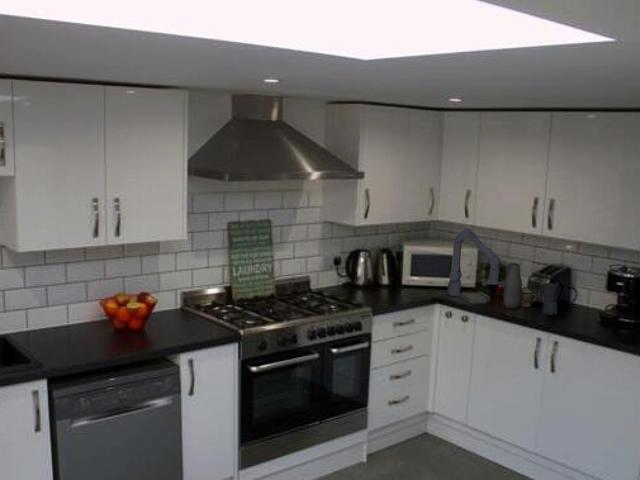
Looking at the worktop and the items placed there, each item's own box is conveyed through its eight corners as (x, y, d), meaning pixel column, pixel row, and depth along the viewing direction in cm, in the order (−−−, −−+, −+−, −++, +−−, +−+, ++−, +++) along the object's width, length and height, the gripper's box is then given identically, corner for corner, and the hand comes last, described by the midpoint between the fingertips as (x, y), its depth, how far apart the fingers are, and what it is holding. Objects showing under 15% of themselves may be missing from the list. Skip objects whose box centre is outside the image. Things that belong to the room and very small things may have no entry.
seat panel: (461, 296, 433) (461, 292, 433) (475, 296, 434) (476, 292, 434) (470, 303, 415) (470, 299, 415) (486, 303, 417) (486, 299, 416)
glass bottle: (512, 306, 411) (515, 261, 407) (523, 310, 401) (526, 264, 397) (499, 307, 407) (502, 261, 403) (509, 311, 398) (512, 264, 394)
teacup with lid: (518, 307, 409) (520, 288, 407) (514, 303, 418) (515, 285, 416) (538, 307, 409) (539, 288, 408) (533, 303, 418) (534, 285, 417)
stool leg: (475, 295, 435) (476, 291, 435) (480, 295, 436) (480, 291, 435) (485, 301, 420) (485, 296, 420) (490, 301, 421) (490, 296, 420)
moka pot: (534, 312, 396) (536, 279, 394) (555, 310, 402) (557, 278, 399) (544, 316, 388) (547, 282, 385) (566, 314, 393) (568, 281, 390)
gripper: (485, 276, 421) (484, 297, 423) (507, 276, 423) (505, 297, 425) (481, 274, 428) (480, 295, 430) (503, 274, 430) (501, 295, 432)
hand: (492, 296), depth 428 cm, fingers closed
